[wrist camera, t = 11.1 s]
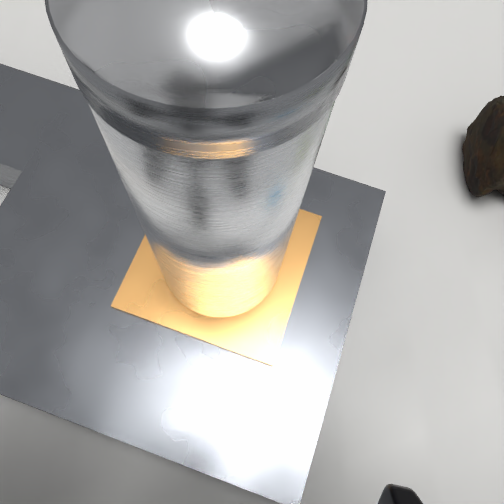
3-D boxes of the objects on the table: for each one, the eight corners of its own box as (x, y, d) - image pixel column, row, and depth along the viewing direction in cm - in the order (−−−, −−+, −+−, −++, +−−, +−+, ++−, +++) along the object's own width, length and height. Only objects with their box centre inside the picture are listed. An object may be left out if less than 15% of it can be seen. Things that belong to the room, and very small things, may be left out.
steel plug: (224, 344, 18) (216, 177, 6) (135, 263, 19) (-26, -21, 7) (304, 256, 20) (428, -20, 7) (218, 185, 21) (204, -158, 8)
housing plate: (287, 497, 19) (299, 511, 16) (-222, 299, 21) (-300, 278, 18) (367, 218, 24) (387, 188, 21) (-51, 77, 26) (-88, 30, 23)
